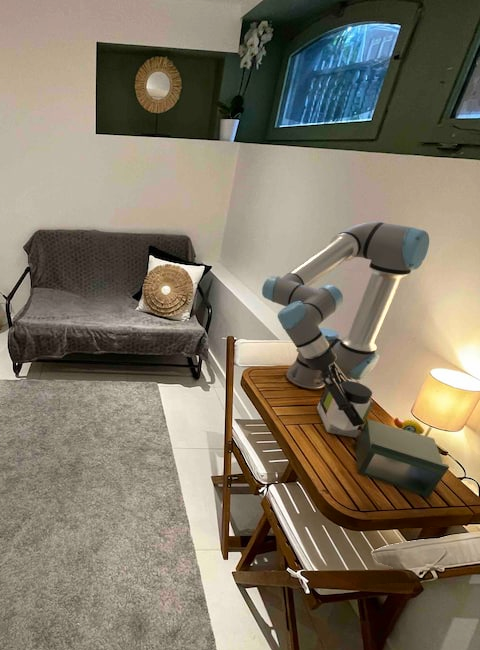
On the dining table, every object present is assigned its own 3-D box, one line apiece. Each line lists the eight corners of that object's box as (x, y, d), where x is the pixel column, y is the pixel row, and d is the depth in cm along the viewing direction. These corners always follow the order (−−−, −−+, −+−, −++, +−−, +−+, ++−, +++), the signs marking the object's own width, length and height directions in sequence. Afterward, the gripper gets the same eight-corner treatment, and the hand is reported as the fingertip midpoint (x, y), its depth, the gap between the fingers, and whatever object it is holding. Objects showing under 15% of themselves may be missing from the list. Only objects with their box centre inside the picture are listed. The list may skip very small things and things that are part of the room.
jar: (320, 419, 112) (334, 386, 106) (331, 409, 117) (345, 377, 111) (351, 435, 107) (368, 401, 100) (361, 424, 111) (378, 390, 105)
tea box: (357, 438, 128) (375, 403, 120) (326, 433, 129) (342, 397, 122) (343, 413, 140) (359, 379, 133) (315, 408, 142) (329, 374, 134)
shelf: (355, 442, 125) (369, 414, 120) (418, 463, 119) (436, 434, 113) (357, 473, 113) (373, 443, 107) (428, 497, 106) (449, 467, 101)
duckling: (382, 441, 127) (395, 418, 122) (385, 434, 131) (398, 411, 126) (422, 459, 121) (437, 435, 116) (424, 451, 124) (439, 427, 119)
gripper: (306, 344, 117) (343, 401, 119) (301, 374, 100) (345, 440, 102) (330, 332, 113) (369, 393, 115) (329, 362, 96) (375, 432, 98)
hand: (358, 415), depth 109 cm, fingers closed on jar, 9 cm apart
